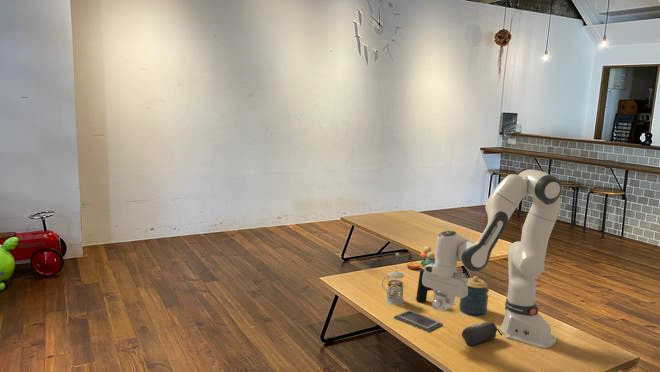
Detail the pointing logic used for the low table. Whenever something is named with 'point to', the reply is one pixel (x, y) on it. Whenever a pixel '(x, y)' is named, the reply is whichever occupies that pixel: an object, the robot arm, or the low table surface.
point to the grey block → (442, 301)
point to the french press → (393, 297)
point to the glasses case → (479, 333)
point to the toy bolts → (428, 260)
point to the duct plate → (418, 321)
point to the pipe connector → (422, 289)
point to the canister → (475, 298)
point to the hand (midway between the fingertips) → (443, 301)
